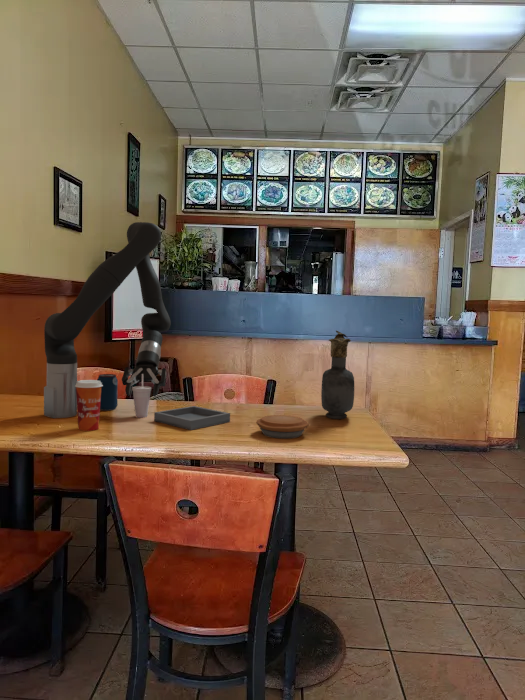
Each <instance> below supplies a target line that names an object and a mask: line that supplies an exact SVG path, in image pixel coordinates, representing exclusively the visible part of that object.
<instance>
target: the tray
mask: <svg viewBox="0 0 525 700" xmlns="http://www.w3.org/2000/svg"><path fill="white" fill-rule="evenodd" d="M153 417H154V418H153V420H154V422H155V423H159V424H165V425H168V426H172V427H177V428H181V429H185V430H188V431H193V430H197V429H204V428H208V427H212V426H216V425H221V424H226V423H231V413H230V412H225V411H221V410H217V409H213V408H206V407H202V406H201V407H200V406H196V405H192V406H191V405H190V406H187V407H186V406H185V407H178V408H174V409H168V410H167V409H166V410H160V411H154V416H153Z"/></svg>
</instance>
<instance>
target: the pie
mask: <svg viewBox="0 0 525 700" xmlns="http://www.w3.org/2000/svg"><path fill="white" fill-rule="evenodd" d="M255 423H256V424H257V426H258V427H259V429H260V430H261V433H262V434H263V435H264V436H265V437H269V438H273V439H282V440H283V439H285V440H287V439H295V438H299V437H301V436H302V435H303V433H304V431H305V429H307V428H308V427H309V425H310V424H309V422H308V421H307V420H304V419H303V418H301V417H299V416H294V415H286V414H271V415H264V416H262V417H260V418H259V419H257V420H256V421H255Z"/></svg>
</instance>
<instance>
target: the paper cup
mask: <svg viewBox="0 0 525 700" xmlns="http://www.w3.org/2000/svg"><path fill="white" fill-rule="evenodd" d="M102 386H103V385H102V383H101V381H98V380H97V379H81V380H77V383H76V385H75V387H76V396H77V427H78V430H79V431H81V432H91V431H97V430H99V425H100V415H101V414H100V412H101V410H100V401H101V387H102Z"/></svg>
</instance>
